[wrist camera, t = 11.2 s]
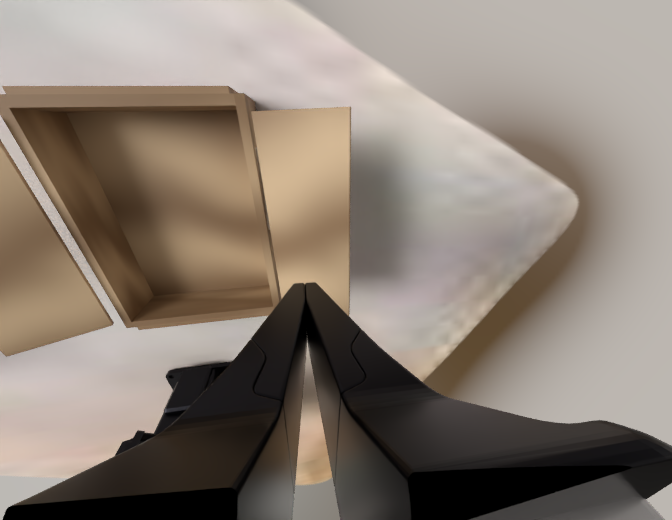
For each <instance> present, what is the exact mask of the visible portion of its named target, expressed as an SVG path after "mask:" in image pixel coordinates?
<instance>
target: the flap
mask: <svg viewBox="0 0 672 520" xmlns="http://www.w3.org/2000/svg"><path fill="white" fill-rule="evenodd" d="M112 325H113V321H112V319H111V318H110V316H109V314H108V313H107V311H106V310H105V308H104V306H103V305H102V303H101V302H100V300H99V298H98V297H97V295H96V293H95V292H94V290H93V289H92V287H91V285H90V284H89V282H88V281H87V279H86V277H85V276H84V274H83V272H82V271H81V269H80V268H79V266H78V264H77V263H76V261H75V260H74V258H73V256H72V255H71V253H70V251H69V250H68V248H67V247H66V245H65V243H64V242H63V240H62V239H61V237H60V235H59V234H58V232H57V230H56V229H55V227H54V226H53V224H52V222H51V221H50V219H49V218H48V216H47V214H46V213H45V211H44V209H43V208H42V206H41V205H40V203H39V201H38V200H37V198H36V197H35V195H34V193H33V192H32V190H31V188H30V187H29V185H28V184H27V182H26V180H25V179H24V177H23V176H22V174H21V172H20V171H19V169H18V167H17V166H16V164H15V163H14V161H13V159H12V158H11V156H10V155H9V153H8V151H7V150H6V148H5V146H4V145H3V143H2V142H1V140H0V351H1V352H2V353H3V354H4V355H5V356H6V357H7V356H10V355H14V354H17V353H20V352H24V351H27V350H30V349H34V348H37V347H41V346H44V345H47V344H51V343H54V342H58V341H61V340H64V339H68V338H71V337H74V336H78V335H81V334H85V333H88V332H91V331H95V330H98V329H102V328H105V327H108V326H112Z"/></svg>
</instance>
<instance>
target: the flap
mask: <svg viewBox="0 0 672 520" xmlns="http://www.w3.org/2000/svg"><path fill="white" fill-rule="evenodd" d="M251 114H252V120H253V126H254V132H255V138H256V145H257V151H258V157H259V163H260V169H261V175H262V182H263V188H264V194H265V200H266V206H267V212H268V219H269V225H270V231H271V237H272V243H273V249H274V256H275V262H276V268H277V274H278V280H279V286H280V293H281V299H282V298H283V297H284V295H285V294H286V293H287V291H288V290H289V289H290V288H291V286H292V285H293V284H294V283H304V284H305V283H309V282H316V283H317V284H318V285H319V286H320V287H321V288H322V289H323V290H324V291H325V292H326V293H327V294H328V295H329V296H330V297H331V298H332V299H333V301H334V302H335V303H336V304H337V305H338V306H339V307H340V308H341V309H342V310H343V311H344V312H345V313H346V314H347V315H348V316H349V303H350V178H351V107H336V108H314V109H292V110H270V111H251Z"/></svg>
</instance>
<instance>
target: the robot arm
mask: <svg viewBox="0 0 672 520" xmlns="http://www.w3.org/2000/svg"><path fill="white" fill-rule="evenodd" d="M307 340H308V347H309V353H310V358H311V363H312V369H313V374H314V380H315V385H316V390H317V396H318V401H319V406H320V412H321V417H322V423H323V428H324V433H325V439H326V444H327V450H328V455H329V460H330V466H331V471H332V477H333V482H334V486H335V493H336V498H337V503H338V509H339V514H340V520H665V519H664V518H663V517H662V516H661V515H660V514H659V513H658V512H657V511H656V510H655V509H654V507H653V506H652V505H651V504H650V503H649V502H648V501H647V500H646V499H647V498H649V497H650V496H652V495H654V494H655V493H657V492H658V491H660V490H661V489H663V488H664V487H666V486H667V485H669V484H671V483H672V446H671V445H669V444H667V443H665V442H662V441H661V440H659V439H657V438H655V437H653V436H650V435H648V434H646V433H643V432H641V431H637V430H634V429H631V428H628V427H625V426H622V425H619V424H615V423H611V422H608V421H602V420H598V421H589V422H583V423H573V424H565V423H553V422H547V421H540V420H536V419H532V418H527V417H523V416H519V415H515V414H511V413H507V412H503V411H499V410H495V409H491V408H487V407H483V406H479V405H475V404H471V403H467V402H463V401H459V400H455V399H451V398H448V397H446V396H443V395H441V394H439V393H437V392H436V391H434V390H432V389H431V388H429V387H428V386H427V385H425V384H424V383H423V382H422V381H420V380H419V379H418V378H417V377H415V376H414V375H413V374H412V373H410V372H409V371H408V370H407V369H406V368H404V367H403V366H402V365H401V364H399V363H398V362H397V361H396V360H394V359H393V358H392V357H391V356H390V355H388V354H387V353H386V352H385V351H384V350H383V349H381V348H380V347H379V346H378V345H377V344H376V343H375V342H374V341H373V340H372V339H371V338H370V337H369V336H368V335H367V334H366V333H365V332H364V331H363V330H361V328H360V327H359V326H358V325H357V324H356V323H355V322H354V321H353V320H352V319H351V318H350V317H349V316H348V315H347V314H346V313H345V312H344V311H343V310H342V309H341V308H340V307H339V306H338V305H337V304H336V303H335V302H334V301H333V299H332V298H331V297H330V296H329V295H328V294H327V293H326V292H325V291H324V290H323V289H322V288H321V287H320V286H319V285H318V284H317V283H316V282H309V283H305V284H304V283H294V284H293V285H292V286H291V288H290V289H289V290H288V291H287V293H286V294H285V295H284V297H283V298H282V299H281V300H280V302H279V303H278V304H277V306H276V307H275V308H274V310H273V311H272V312H271V313H270V315H269V316H268V317H267V319H266V320H265V321H264V323H263V324H262V325H261V326H260V328H259V329H258V330H257V332H256V333H255V334H254V336H253V337H252V338H251V340H250V341H249V342H248V343H247V344H246V346H245V347H244V348H243V350H242V351H241V352H240V353H239V354H238V356H237V357H236V358H235V359H234V360H233V362H232V363H222V364H214V365H206V366H199V367H191V368H184V369H176V370H170V371H168V373H167V375H166V378H167V380H168V382H169V384H170V386H171V387H172V389H173V392H172V394H171V396H170V398H169V400H168V403H167V405H166V407H165V409H164V413H163V415H162V417H161V420H160V422H159V424H158V426H157V428H156V430H155V432H154V434H152V433H145V431H139V430H138V431H137V432H136V434H135V436H134V438H133V439H132V438H131V439H130V440H127V441H124V442H122V444H121V446H120V448H119V449H118V451H117V453H116V455H115V456H114V457H112V458H110V459H108V460H106V461H104V462H102V463H100V464H98V465H96V466H94V467H92V468H90V469H88V470H86V471H84V472H81V473H79V474H77V475H75V476H73V477H71V478H69V479H67V480H65V481H63V482H61V483H59V484H57V485H55V486H53V487H51V488H49V489H47V490H44V491H42V492H40V493H38V494H36V495H34V496H32V497H30V498H28V499H26V500H23V501H21V502H19V503H17V504H14V505H12V506H10V507H8V508H7V510H6V512H5V515H4V517H3V520H292V515H293V503H294V491H295V480H296V468H297V456H298V444H299V432H300V420H301V409H302V397H303V385H304V373H305V361H306V349H307Z"/></svg>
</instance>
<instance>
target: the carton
mask: <svg viewBox="0 0 672 520" xmlns="http://www.w3.org/2000/svg"><path fill="white" fill-rule="evenodd" d="M2 87H3V89H4V91H5V93H6V94H0V115H1V117H2V118H3V120H4V122H5V123H6V125H7V127H8V128H9V130H10V132H11V133H12V135H13V137H14V139H15V140H16V142H17V144H18V145H19V147H20V149H21V150H22V152H23V154H24V155H25V157H26V159H27V160H28V162H29V164H30V166H31V167H32V169H33V171H34V172H35V174H36V176H37V177H38V179H39V181H40V182H41V184H42V186H43V187H44V189H45V191H46V193H47V194H48V196H49V198H50V199H51V201H52V203H53V204H54V206H55V208H56V209H57V211H58V213H59V214H60V216H61V218H62V220H63V221H64V223H65V225H66V226H67V228H68V230H69V231H70V233H71V235H72V236H73V238H74V240H75V241H76V243H77V245H78V247H79V248H80V250H81V252H82V253H83V255H84V257H85V258H86V260H87V262H88V263H89V265H90V267H91V268H92V270H93V272H94V274H95V275H96V277H97V279H98V280H99V282H100V284H101V285H102V287H103V289H104V290H105V292H106V294H107V295H108V297H109V299H110V301H111V302H112V304H113V306H114V307H115V309H116V311H117V312H118V314H119V316H120V317H121V319H122V321H123V323H124V324H125V326H126V328H131V327H138V329H139V330H142V329H151V328H160V327H169V326H178V325H187V324H196V323H205V322H214V321H223V320H232V319H241V318H250V317H258V316H267V315H270V313H271V312H272V311H273V310H274V308H275V307H276V306H277V304H278V303H279V302H280V300H281V293H280V286H279V280H278V274H277V268H276V262H275V256H274V249H273V243H272V237H271V231H270V225H269V219H268V212H267V206H266V200H265V194H264V188H263V182H262V175H261V169H260V163H259V157H258V151H257V145H256V138H255V132H254V126H253V120H252V114H251V111H256V106H255V101H254V100H252V99H251V98H250V97H248V96H247V95H246V94H244V93H238V92H236V91H235V90H233V89H232V88H230V87H229V86H2Z"/></svg>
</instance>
